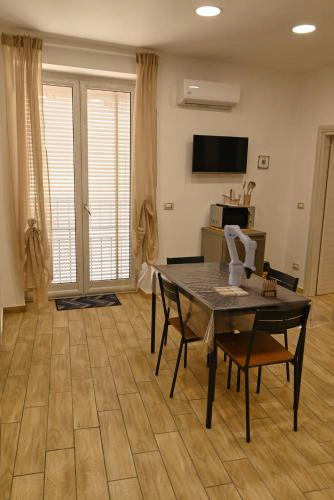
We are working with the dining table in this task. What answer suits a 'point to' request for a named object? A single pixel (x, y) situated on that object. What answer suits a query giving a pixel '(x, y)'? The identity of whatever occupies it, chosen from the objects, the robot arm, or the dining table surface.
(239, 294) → the ash plank
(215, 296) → the dining table surface
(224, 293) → the laid oak boards
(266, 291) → the ammunition clip
